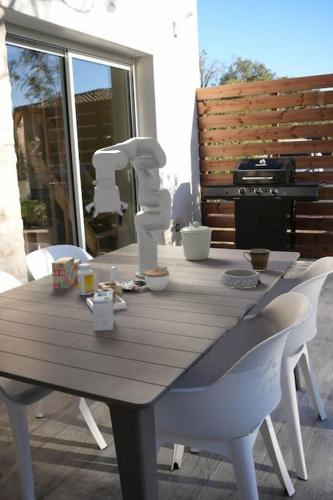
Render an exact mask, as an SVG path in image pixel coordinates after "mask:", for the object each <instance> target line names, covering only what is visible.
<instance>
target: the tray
mask: <svg viewBox="0 0 333 500" xmlns="http://www.w3.org/2000/svg"><path fill="white" fill-rule="evenodd" d="M93 298H94V297H88V298H86V299H85V300H86V305H87V307H88V308H89V309H90V310H91V311H92V313H93ZM125 309H127V304H126V301H124V299H121V298H120V297H119V296H118V295H115V303H113V311H121V310H125Z"/></svg>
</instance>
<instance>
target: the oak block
mask: <svg viewBox="0 0 333 500" xmlns="http://www.w3.org/2000/svg"><path fill="white" fill-rule="evenodd" d="M97 285H98V286H97V287H98V289H105V288H112V289H113V290H114V291H115V295H118V296H119V297H120V298H121V299H122V300H124V299H123V285H122V284H121V282H119V281H117V280H116V283H115V285H110V286H109V281H107V282H106V281H104V282H98V283H97Z"/></svg>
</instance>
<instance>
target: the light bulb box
mask: <svg viewBox="0 0 333 500" xmlns="http://www.w3.org/2000/svg"><path fill="white" fill-rule="evenodd" d="M92 298H93V312H92V315H93V331H94V332H95V331H113V330H114V322H115V321H114V320H115V318H114V317H115V316H114V310H113V292H98V293H96V292H94V293H93V297H92Z"/></svg>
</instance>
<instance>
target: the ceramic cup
mask: <svg viewBox="0 0 333 500" xmlns="http://www.w3.org/2000/svg"><path fill="white" fill-rule="evenodd" d="M270 253H271V250H270V249H267V248H252V249H249V252H248V251H245V252H244V253H243V258H244V259H246V260H247V261H248V262H249V263H250V265H251V266H252V267H251V268H252V270H265V269H268V268H267V267H268V264H269V258H270ZM245 254H247V255H248V256H249V257H250V259H248V258H247V257H246V256H245Z"/></svg>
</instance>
